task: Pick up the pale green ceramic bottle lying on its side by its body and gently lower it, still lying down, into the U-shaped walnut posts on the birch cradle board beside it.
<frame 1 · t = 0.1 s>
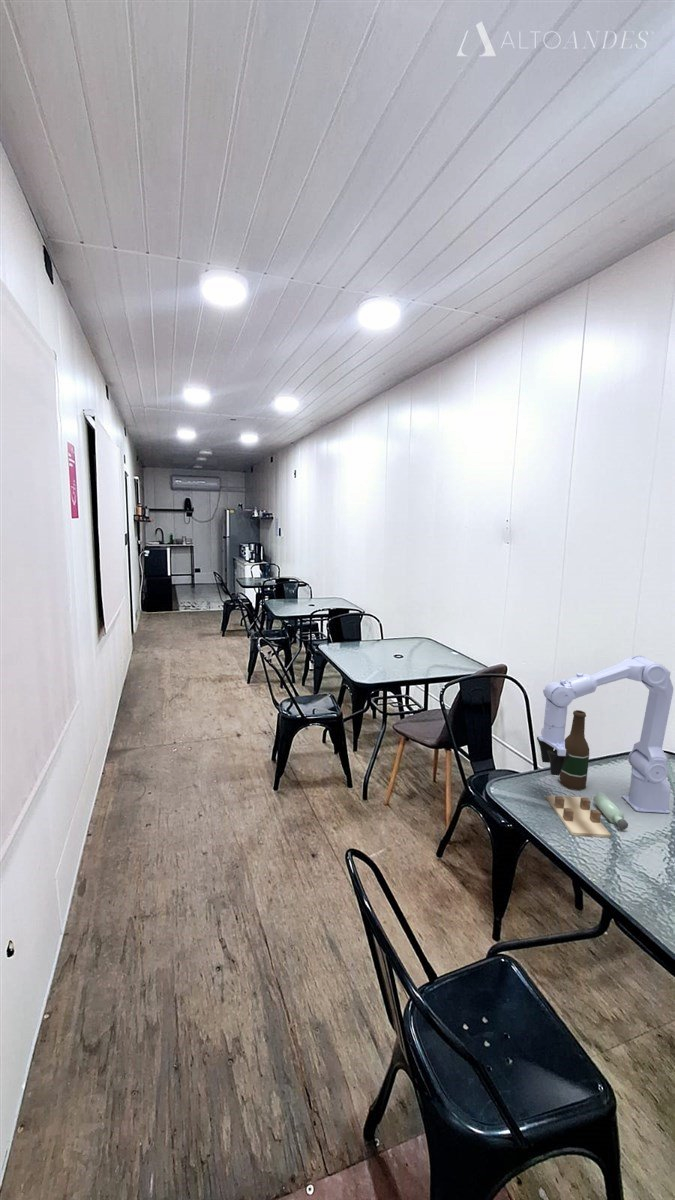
hand: (550, 768, 140), 10 cm above the table, tool pointing down, fingers open, 7 cm apart
beer bottle: (572, 784, 151), on the table
bottle: (608, 808, 135), point 2 cm above the table
cradle: (576, 816, 134), on the table
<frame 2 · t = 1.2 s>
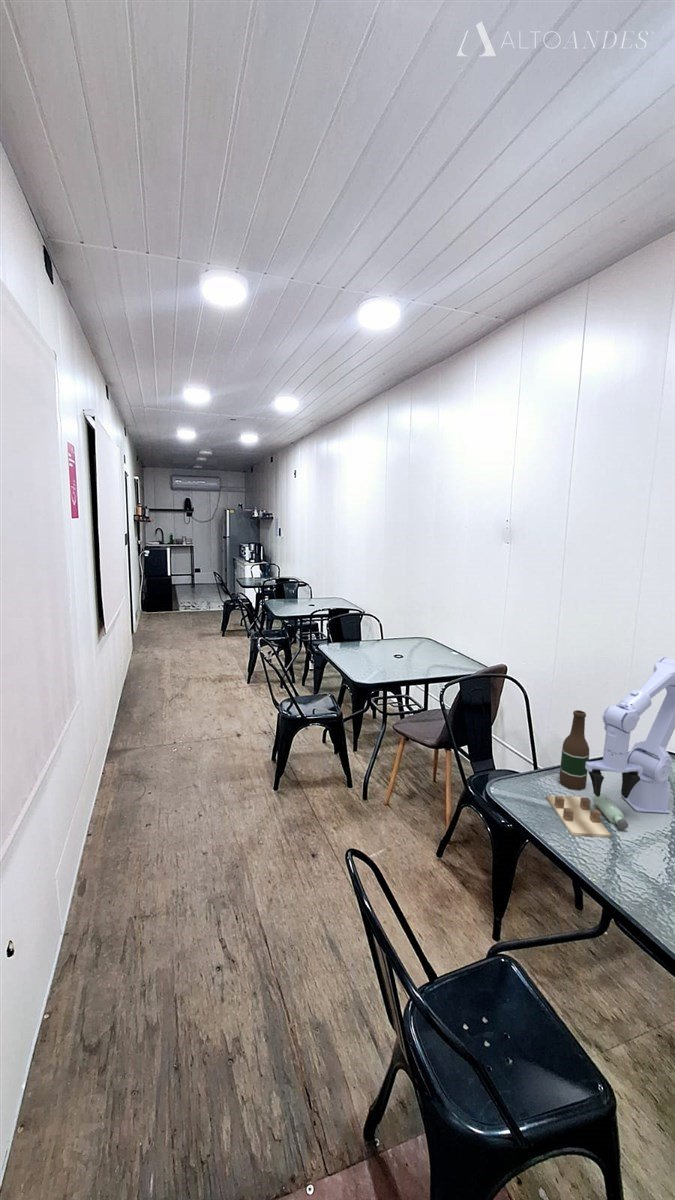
hand: (610, 795, 134), 6 cm above the table, tool pointing down, fingers open, 7 cm apart
nothing on the table moved.
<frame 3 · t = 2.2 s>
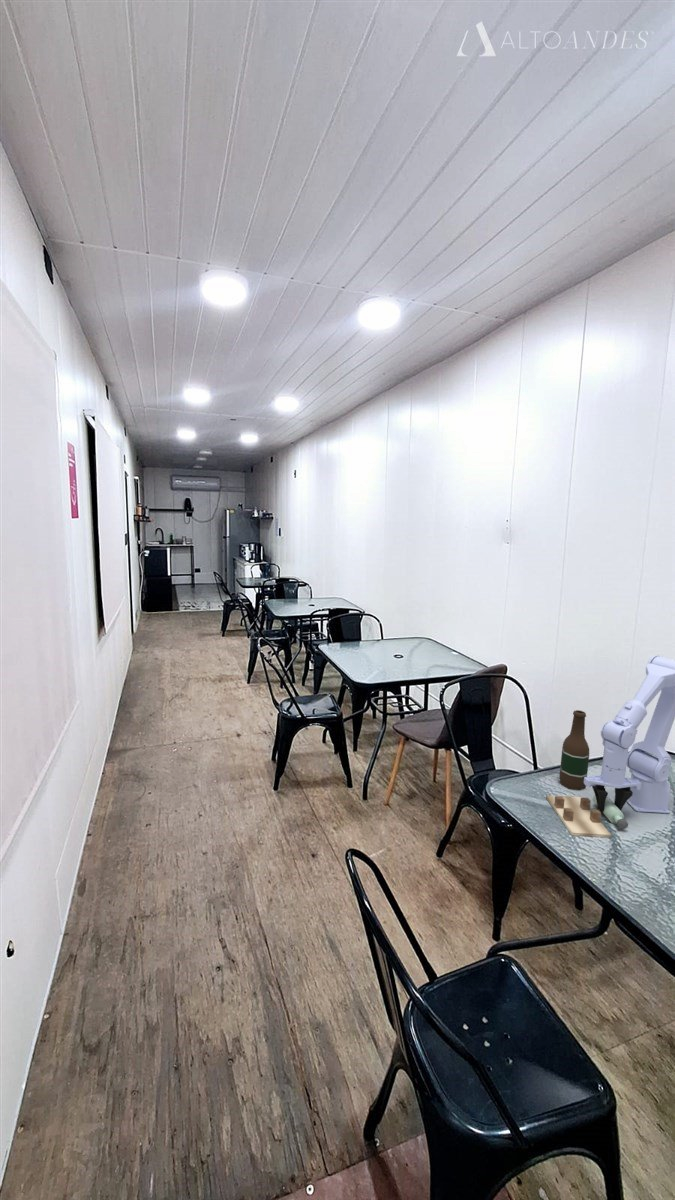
hand: (608, 810, 135), 1 cm above the table, tool pointing down, fingers closed on bottle, 4 cm apart
bottle: (608, 807, 135), point 2 cm above the table, touching gripper
everything else where it was.
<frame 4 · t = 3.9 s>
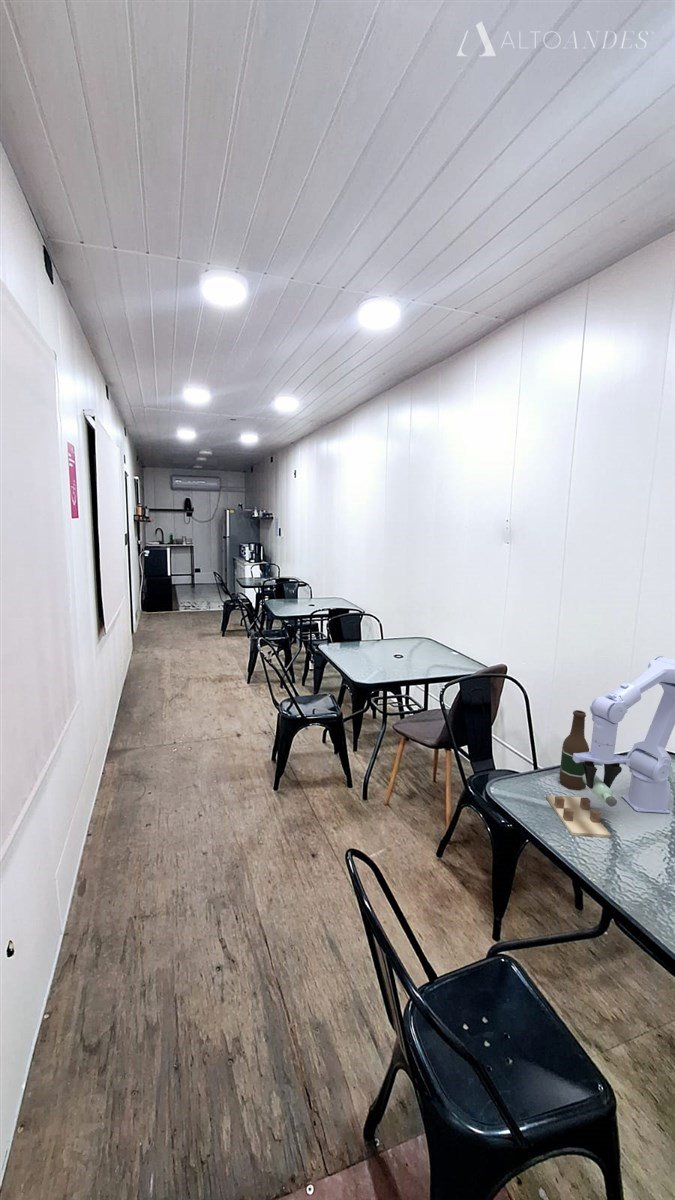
hand: (597, 787, 133), 9 cm above the table, tool pointing down, fingers closed on bottle, 4 cm apart
bottle: (597, 786, 134), point 9 cm above the table, touching gripper
everything else where it was.
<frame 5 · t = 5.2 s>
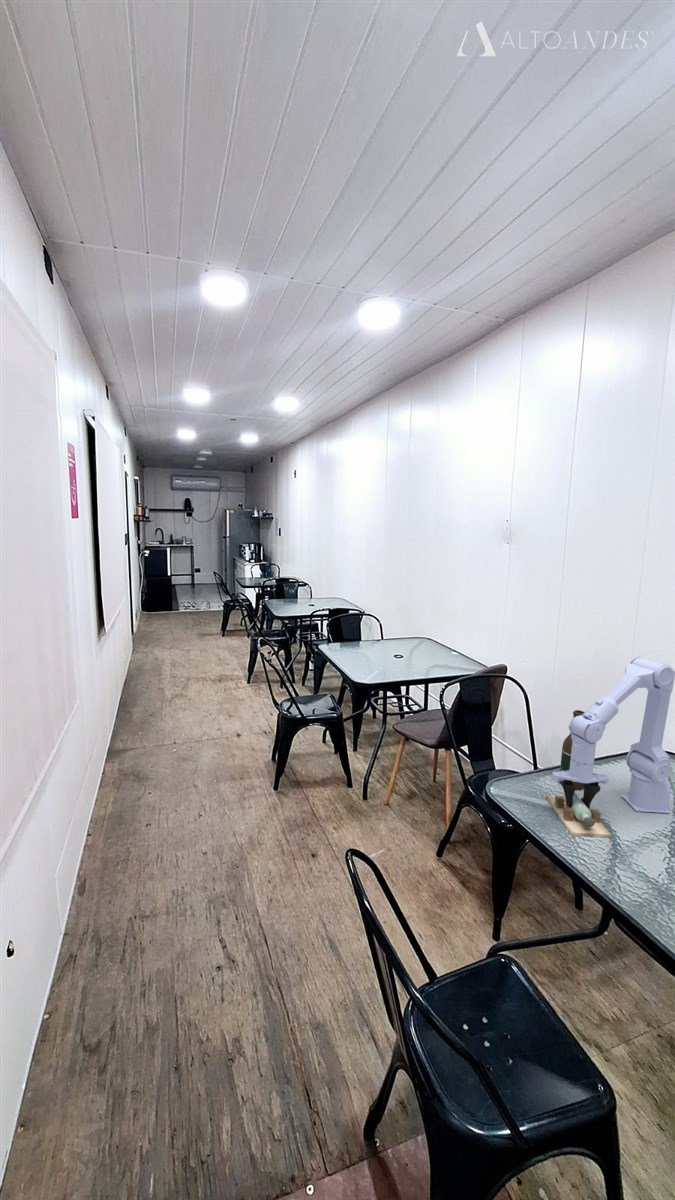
hand: (577, 806, 133), 3 cm above the table, tool pointing down, fingers closed on bottle, 4 cm apart
bottle: (576, 805, 134), point 3 cm above the table, touching gripper
everything else where it was.
when the fingers open (2 cm above the table, at t = 5.8 s): bottle stays where it is, resting on cradle.
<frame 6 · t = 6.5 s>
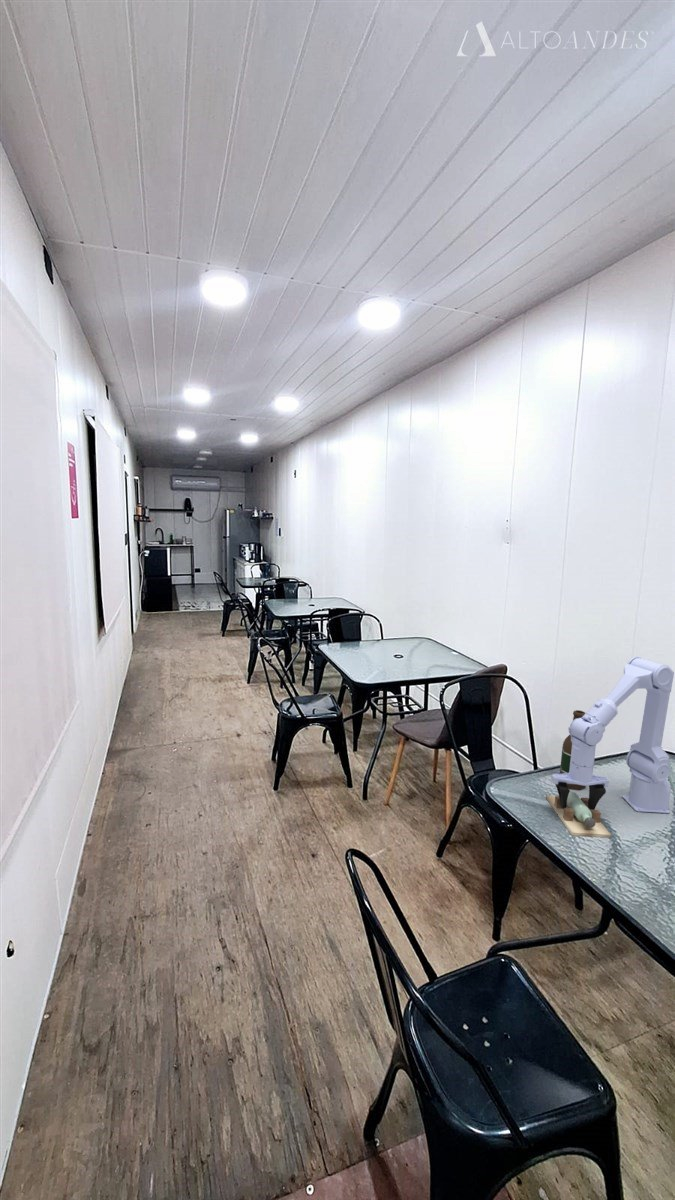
hand: (577, 808, 133), 2 cm above the table, tool pointing down, fingers open, 7 cm apart
bottle: (577, 806, 134), point 3 cm above the table, tilted 7°, touching cradle
everything else where it was.
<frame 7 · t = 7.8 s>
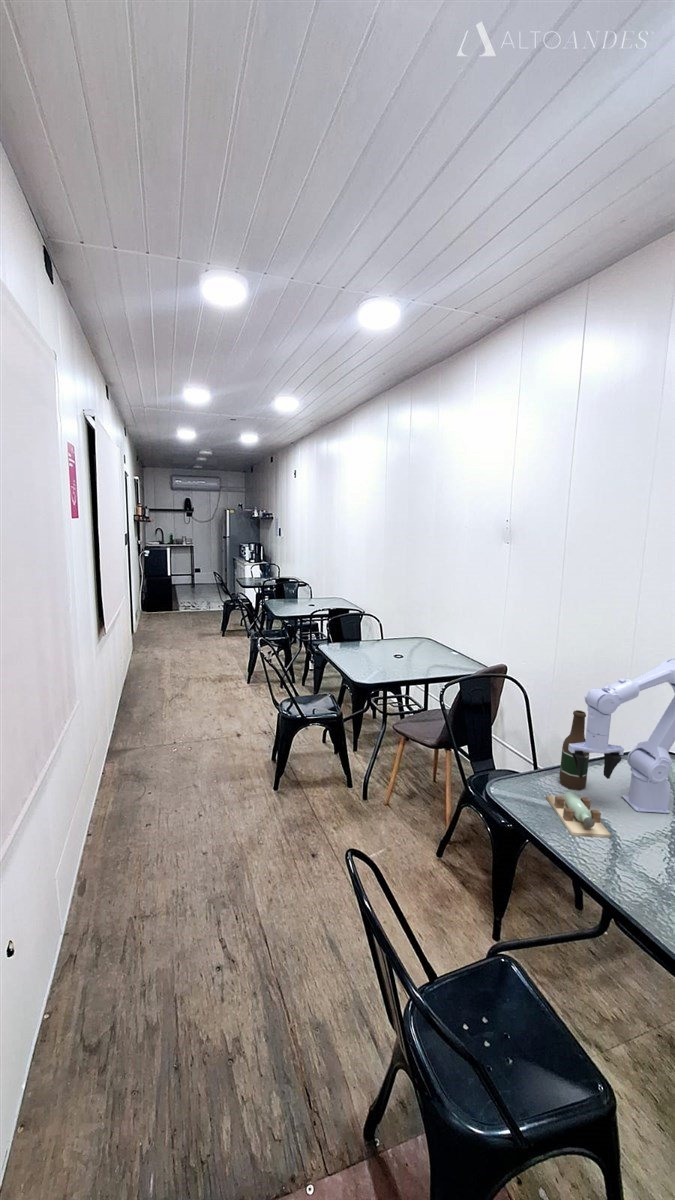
hand: (593, 776, 138), 9 cm above the table, tool pointing down, fingers open, 7 cm apart
bottle: (576, 806, 134), point 3 cm above the table, touching cradle
everything else where it was.
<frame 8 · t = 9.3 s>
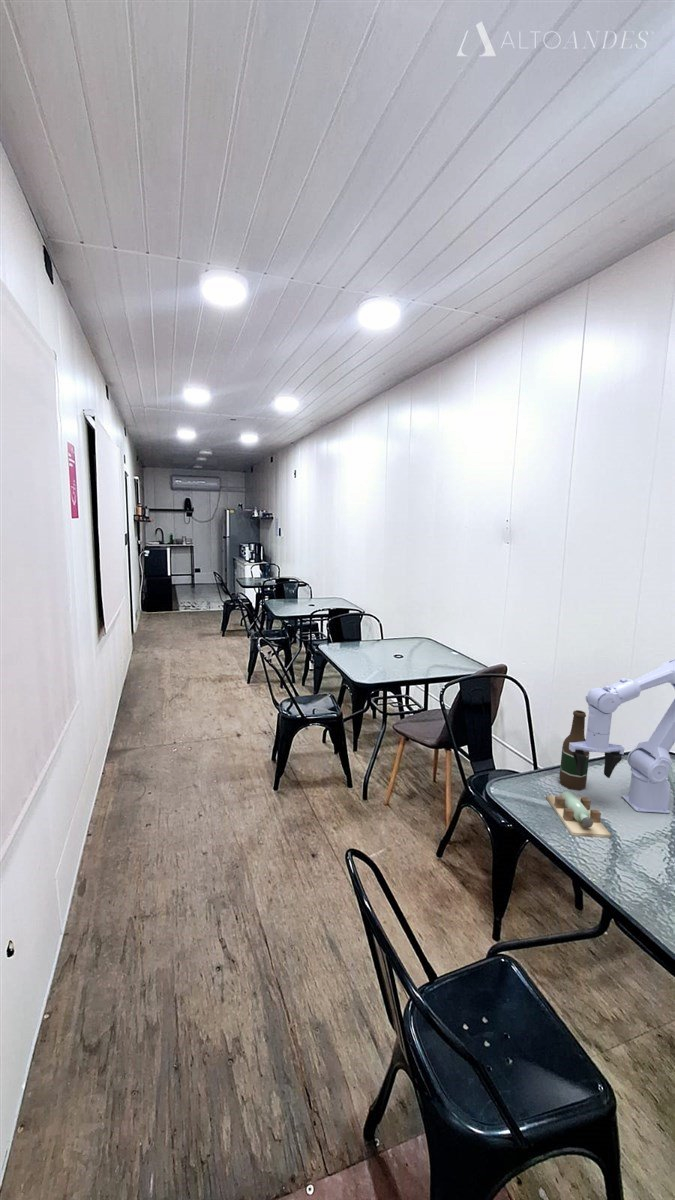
hand: (593, 775, 138), 9 cm above the table, tool pointing down, fingers open, 7 cm apart
bottle: (574, 806, 134), point 3 cm above the table, tilted 12°, touching cradle
everything else where it was.
at the end: bottle 0.6 cm off-centre on the cradle, point 2.8 cm above the cradle's base; bottle touching cradle; the gripper is holding nothing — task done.
